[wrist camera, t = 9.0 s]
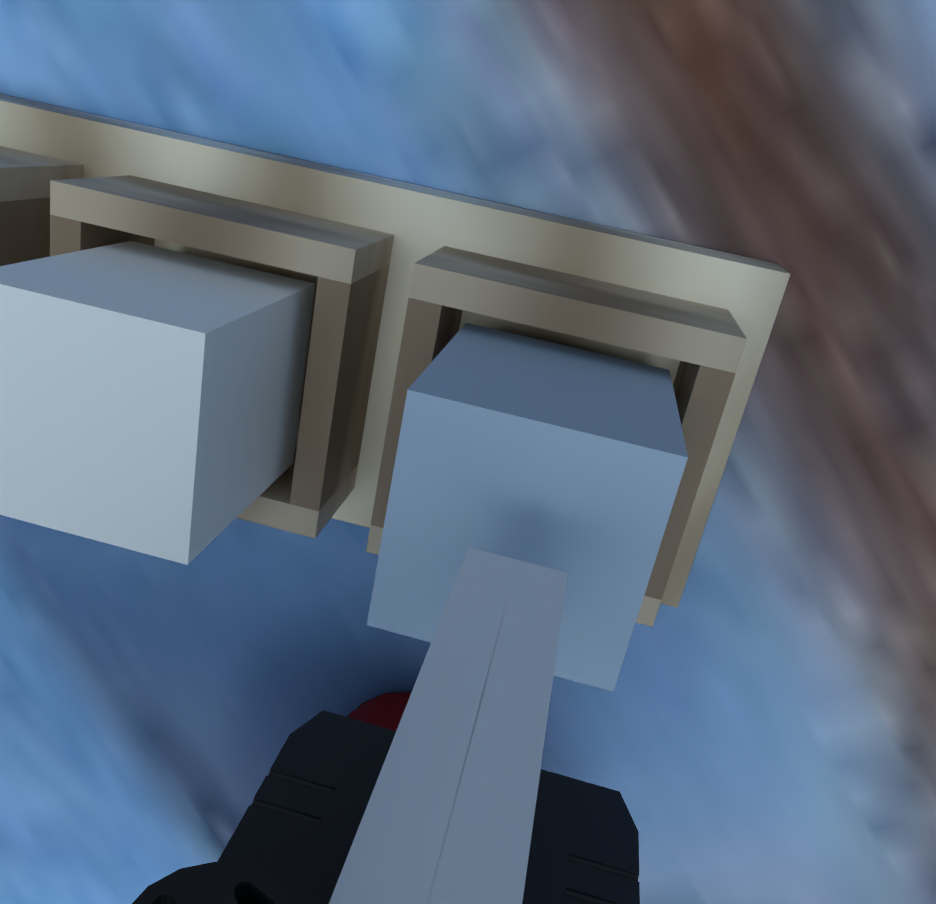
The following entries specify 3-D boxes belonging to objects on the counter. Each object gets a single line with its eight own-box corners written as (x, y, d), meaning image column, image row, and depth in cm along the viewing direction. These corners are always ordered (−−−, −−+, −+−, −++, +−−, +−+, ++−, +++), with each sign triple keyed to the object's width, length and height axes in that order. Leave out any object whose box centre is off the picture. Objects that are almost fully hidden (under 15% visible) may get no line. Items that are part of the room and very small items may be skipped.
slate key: (430, 504, 22) (366, 625, 17) (466, 322, 20) (407, 389, 15) (615, 551, 22) (613, 691, 16) (669, 369, 20) (687, 457, 14)
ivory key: (123, 420, 23) (-32, 506, 18) (130, 240, 21) (-41, 273, 16) (293, 462, 23) (188, 565, 17) (315, 283, 21) (205, 333, 15)
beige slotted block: (-121, 372, 29) (-278, 421, 24) (-144, 62, 25) (-336, 41, 20) (674, 575, 27) (686, 677, 21) (776, 263, 23) (820, 297, 18)
